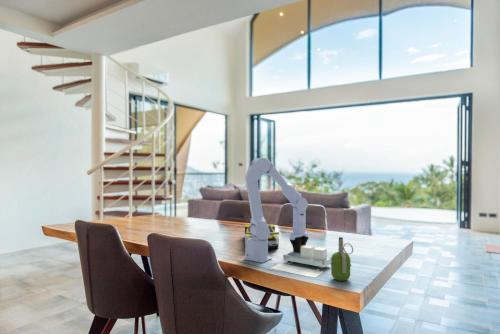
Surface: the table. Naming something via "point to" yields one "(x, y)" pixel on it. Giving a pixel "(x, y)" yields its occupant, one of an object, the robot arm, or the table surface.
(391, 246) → the table surface
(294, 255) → the beam with t-bracket
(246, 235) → the racing car
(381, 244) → the table surface
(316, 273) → the track
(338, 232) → the table surface
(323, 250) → the part
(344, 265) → the grenade
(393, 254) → the table surface
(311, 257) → the part
